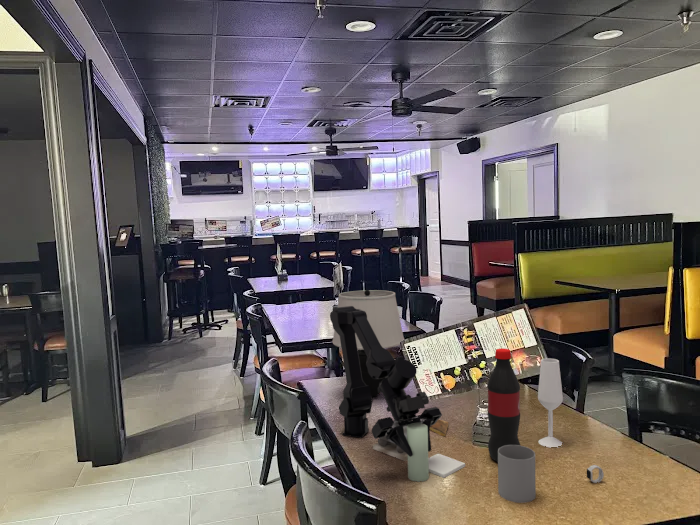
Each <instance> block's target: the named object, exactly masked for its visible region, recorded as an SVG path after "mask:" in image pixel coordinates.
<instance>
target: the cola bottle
mask: <svg viewBox="0 0 700 525" xmlns="http://www.w3.org/2000/svg"><path fill="white" fill-rule="evenodd" d="M494 354H495V355H494V358H495V365H494V368H493V370H492V372H491V374H490V377H489V379H488V381H487V383H486V384H487V386H486V389H487V417H488V418H487V419H488V424H489V429H490V436H489V440H488V444H487V449H488V453H489V457H490V458H491V459H492V460H493V461H495V462H497V463H498V449H499V448H500V447H502V446H506V445H520V446H521V442H520V440H519V436H518V434H519V428H520V422H521V408H520V407H521V405H520V404H521V403H520V400H521V399H520V398H521V397H520V391H521V385H520V382H519V380H518V378H517V375H516V373H515V371H514V369H513V367H512V365H511V364H512V363H511V359H512V352H511V349H509V348H501V347H500V348H497V349H495V353H494Z"/></svg>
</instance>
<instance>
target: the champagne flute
mask: <svg viewBox="0 0 700 525" xmlns="http://www.w3.org/2000/svg"><path fill="white" fill-rule="evenodd" d="M560 367H561V366H560V360H558V359H556V358H550V357H548V358H542V359H541V360H540V369H539V381H538V388H537V390H538V392H537V399H538V402H539V403H540V404H541V405H542V406H543V407H544V408H545V409H546V410H547V420H548V422H547V423H548V426H547V428H548V430H547V432H548V434H547V436H544V437H542V438H540V439H539V440H538V444H539V445H541V446H543V447H545V446H546V448H551V447H557V448H559V447H558V446H561V445H562V443H563V442H562V441H561V440H559V438H556V437H554V434H553V433H554V431H553V428H554V425H553V416H554V414H553V412H554V411H553V410H555V409H557V408H558V407H559V406H560V405H561V404H562V402H563V401H564V397H563V387H562V379H561V370H560ZM561 447H562V446H561Z"/></svg>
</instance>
